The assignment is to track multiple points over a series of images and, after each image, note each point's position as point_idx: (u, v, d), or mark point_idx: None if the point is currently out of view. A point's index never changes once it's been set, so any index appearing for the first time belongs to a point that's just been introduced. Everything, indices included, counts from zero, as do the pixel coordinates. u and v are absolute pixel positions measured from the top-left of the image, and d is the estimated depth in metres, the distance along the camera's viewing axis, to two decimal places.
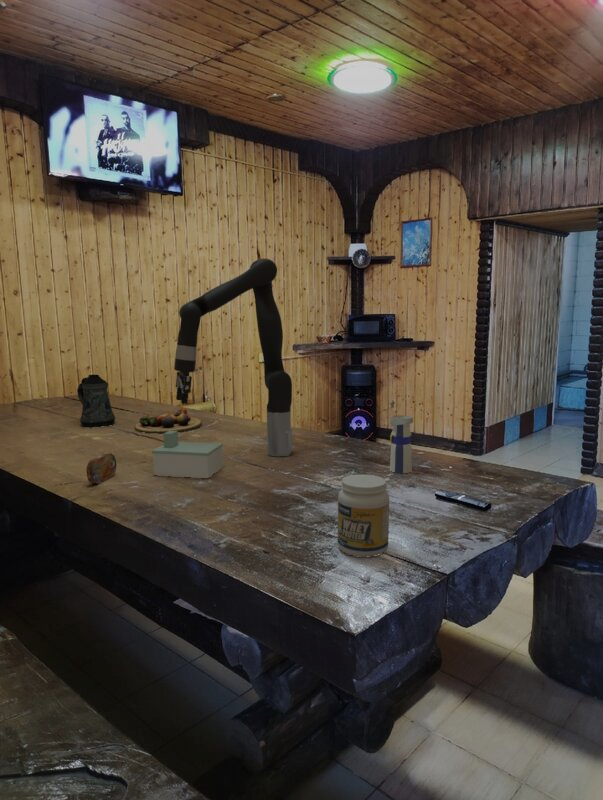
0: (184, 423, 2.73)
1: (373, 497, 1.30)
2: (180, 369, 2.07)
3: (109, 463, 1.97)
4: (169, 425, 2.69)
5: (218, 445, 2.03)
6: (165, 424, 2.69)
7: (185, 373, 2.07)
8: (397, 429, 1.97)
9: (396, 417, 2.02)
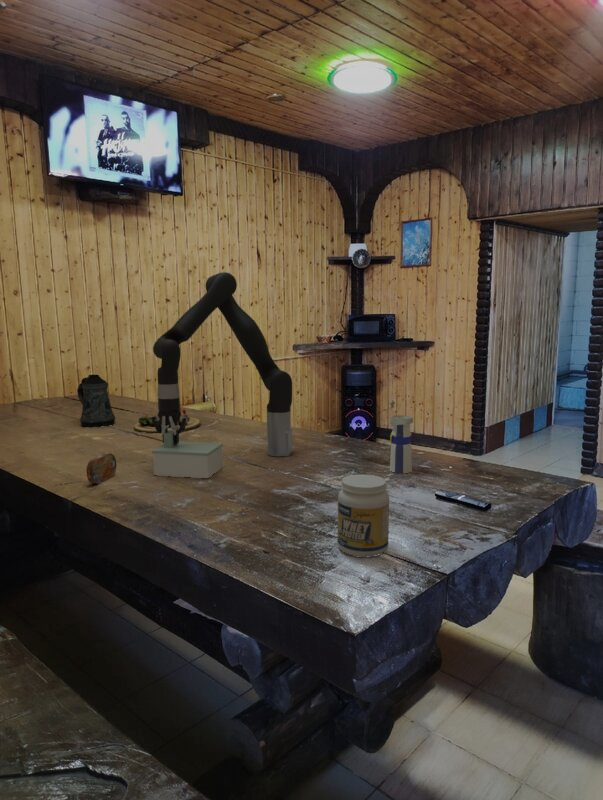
0: None
1: (373, 497, 1.30)
2: (174, 408, 1.98)
3: (109, 463, 1.97)
4: None
5: (218, 445, 2.03)
6: None
7: (178, 411, 2.00)
8: (397, 429, 1.97)
9: (396, 417, 2.02)
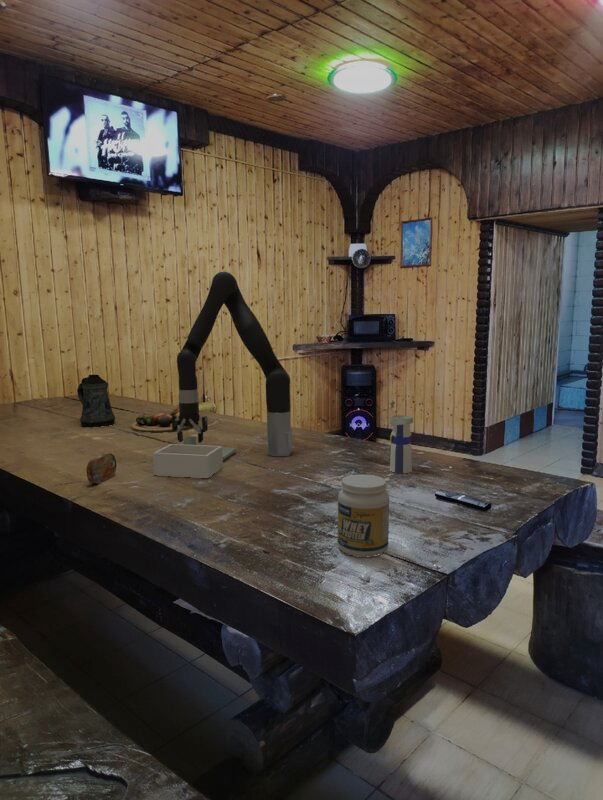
0: (180, 422, 2.75)
1: (373, 497, 1.30)
2: (194, 412, 2.20)
3: (109, 463, 1.97)
4: (166, 424, 2.71)
5: (232, 449, 2.25)
6: (162, 423, 2.71)
7: (197, 414, 2.21)
8: (397, 429, 1.97)
9: (396, 417, 2.02)
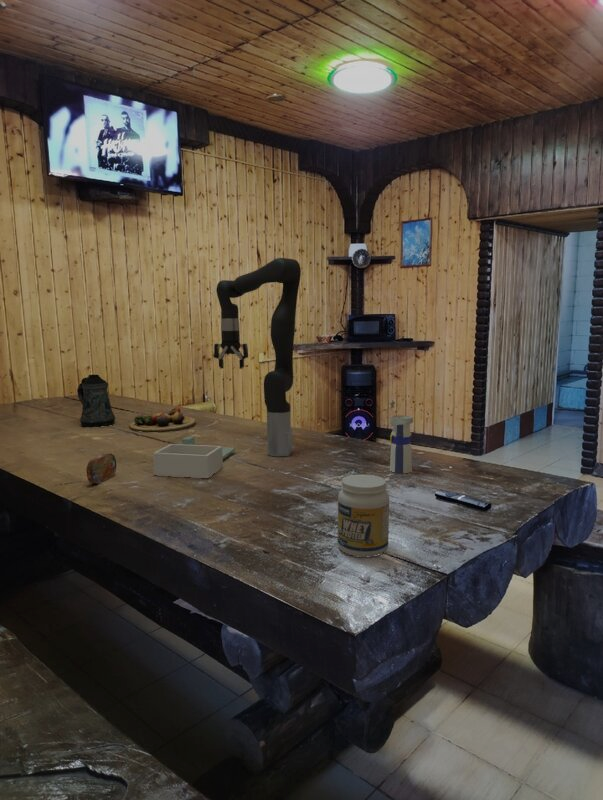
0: (179, 422, 2.76)
1: (373, 497, 1.30)
2: (235, 339, 2.35)
3: (109, 463, 1.97)
4: (164, 424, 2.72)
5: (231, 449, 2.25)
6: (160, 423, 2.72)
7: (238, 342, 2.37)
8: (397, 429, 1.97)
9: (396, 417, 2.02)
